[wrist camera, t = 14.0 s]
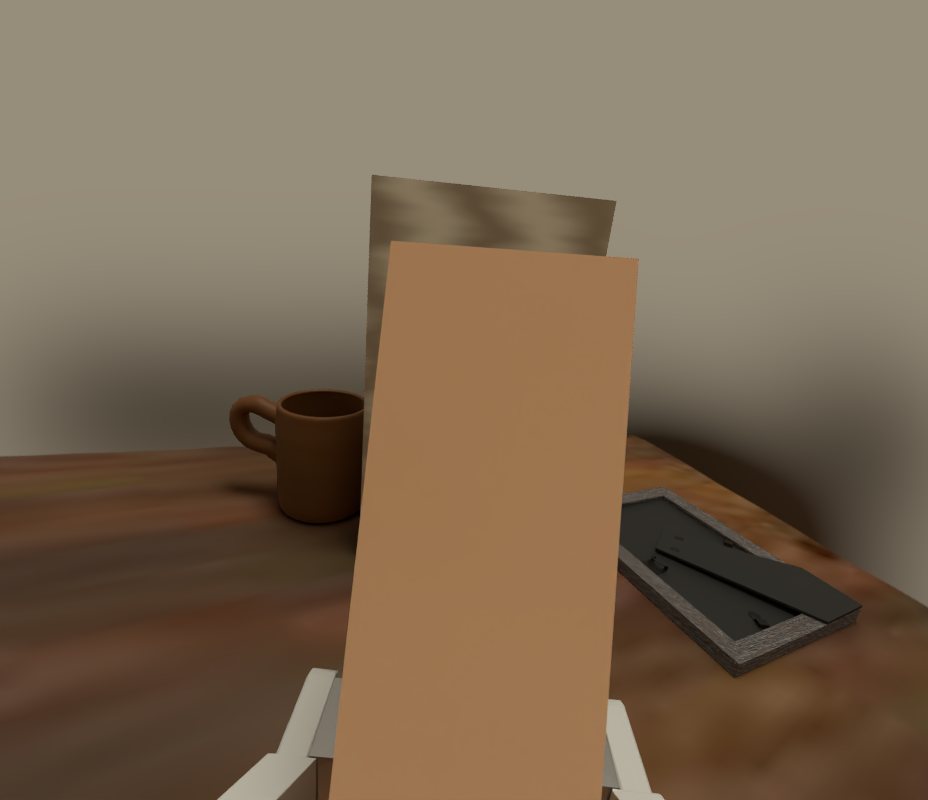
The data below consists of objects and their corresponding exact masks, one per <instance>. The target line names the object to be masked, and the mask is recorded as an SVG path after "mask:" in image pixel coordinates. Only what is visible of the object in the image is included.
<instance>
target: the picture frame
mask: <svg viewBox="0 0 928 800" xmlns="http://www.w3.org/2000/svg"><path fill="white" fill-rule="evenodd" d="M617 570H618V571H619V572H620V573H621V574H622V575H623V576H624V577H625V578H626V579H628V580H629V581H630V582H631V583H632V584H633V585H634V586H635V587H636V588H637V589H638V590H639V591H641V592H642V593H643V594H644V595H645V596H646V597H647V598H648V599H649V600H650V601H651V602H652V603H654V604H655V605H656V606H657V607H658V608H659V609H660V610H661V611H662V612H663V613H664V614H666V615H667V616H668V617H669V618H670V619H671V620H672V621H673V622H674V623H675V624H676V625H677V626H679V627H680V628H681V629H682V630H683V631H684V632H685V633H686V634H687V635H688V636H689V637H691V638H692V639H693V640H694V641H695V642H696V643H697V644H698V645H699V646H700V647H701V648H702V649H704V650H705V651H706V652H707V653H708V654H709V655H710V656H711V657H712V658H713V659H714V660H716V661H717V662H718V663H719V664H720V665H721V666H722V667H723V668H724V669H725V670H726V671H727V672H729V673H730V674H731V675H732V676H733V677H734V678H735V677H737V676H739V675H742V674H744V673H746V672H748V671H750V670H752V669H754V668H757V667H759V666H761V665H763V664H765V663H767V662H770V661H772V660H774V659H776V658H778V657H780V656H782V655H785V654H787V653H789V652H791V651H793V650H795V649H797V648H800V647H802V646H804V645H806V644H808V643H810V642H813V641H815V640H817V639H819V638H821V637H823V636H825V635H828V634H830V633H832V632H834V631H836V630H838V629H841V628H843V627H845V626H847V625H849V624H851V623H853V622H855V621H856V619H857V616H858V614H859V612H860V610H859V609H860V608H861V607H862V605H861V604H859V603H858V602H856V601H854V600H853V599H851V598H850V597H848V596H846V595H845V594H843V593H842V592H840V591H838V590H837V589H835V588H833V587H832V586H830V585H829V584H827V583H825V582H824V581H822V580H820V579H819V578H817V577H816V576H814V575H812V574H811V573H809V572H807V571H806V570H804V569H803V568H800V567H796V566H793V565H789V564H786V563H784V562H783V561H781V560H779V559H778V558H776V557H775V556H773V555H771V554H770V553H768V552H767V551H765V550H763V549H762V548H760V547H759V546H757V545H756V544H754V543H752V542H751V541H749V540H748V539H746V538H744V537H743V536H741V535H740V534H738V533H736V532H735V531H733V530H732V529H730V528H728V527H727V526H725V525H724V524H722V523H720V522H719V521H717V520H716V519H714V518H712V517H711V516H709V515H708V514H706V513H704V512H703V511H701V510H700V509H698V508H697V507H695V506H693V505H692V504H690V503H689V502H687V501H685V500H684V499H682V498H681V497H679V496H677V495H676V494H674V493H673V492H671V491H669V490H668V489H666V488H665V487H660V488H654V489H648V490H643V491H637V492H632V493H626V494H622V507H621V522H620V536H619V551H618V565H617Z"/></svg>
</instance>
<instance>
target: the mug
mask: <svg viewBox="0 0 928 800" xmlns="http://www.w3.org/2000/svg"><path fill="white" fill-rule="evenodd" d="M250 412H252V413H255V414H257V415H259V416H261V417H263V418H265V419H267V420H268V421H271V422H272V423H274V424H275V433H276V437H275V436H272V435H270V434H264V433H260V432H259V431H257V430H256V429H255V428H254V426H253V425H252V423H251V421H250V418H249V413H250ZM229 421H230V425H231V429H232V431H233V433H234V435H235V436H236V438H237V439H238V440H239V441H240V442H241V443H242V444H243V445H244V446H246V447H247V448H249V449H251V450H254V451H256V452H260V453H263V454H266V455H267V456H268V457H269V458H271V459H272V460H273V461H275V462H276V466H277V488H278V500H279V504H280V507H281V509H282V510H283V511H284V512H285V513H286V514H287V515H288V516H290V517H291V518H294V519H296V520H299V521H302V522H307V523H330V522H335V521H339V520H342V519H345V518H347V517H349V516H351V515H353V514H355V513H356V512H358V511H359V510H360V509H361V482H362V452H363V423H364V397H362V396H360V395H358V394H355V393H351V392H347V391H341V390H332V389H315V390H314V389H312V390H304V391H298V392H294V393H291V394H288V395H286V396H284V397H282V398H281V399H280V400H279V401H278V403H275V402H273V401H271V400H269V399H267V398H265V397H263V396H259V395H251V396H246V397H242V398H240V399H238V400H237V401H236V402H235V403H234V404H233V406H232V408H231V410H230V417H229Z"/></svg>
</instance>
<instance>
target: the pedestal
mask: <svg viewBox="0 0 928 800" xmlns="http://www.w3.org/2000/svg"><path fill="white" fill-rule="evenodd" d="M615 206H616V201H610V200H601V199H592V198H583V197H574V196H564V195H555V194H546V193H536V192H526V191H518V190H508V189H499V188H490V187H480V186H471V185H461V184H451V183H442V182H434V181H424V180H414V179H406V178H396V177H387V176H377V175H372V185H371V217H370V245H369V274H368V304H367V306H368V307H367V335H366V363H365V364H366V365H365V394H364V423H363V452H362V482H361V506H362V497H363V488H364V479H365V470H366V461H367V452H368V443H369V434H370V425H371V416H372V407H373V398H374V389H375V380H376V371H377V362H378V353H379V345H380V336H381V327H382V318H383V309H384V300H385V291H386V282H387V273H388V264H389V255H390V246H391V241H401V242H415V243H429V244H442V245H456V246H470V247H483V248H497V249H511V250H524V251H538V252H552V253H565V254H579V255H593V256H606V253H607V248H608V242H609V237H610V232H611V226H612V222H613V216H614V211H615ZM360 515H361V512H360Z"/></svg>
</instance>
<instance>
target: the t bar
mask: <svg viewBox="0 0 928 800" xmlns="http://www.w3.org/2000/svg"><path fill="white" fill-rule="evenodd" d="M638 261H639V259H634V258H620V257H606V256H593V255H579V254H565V253H552V252H538V251H524V250H511V249H497V248H483V247H470V246H456V245H442V244H429V243H415V242H401V241H391V246H390V255H389V264H388V273H387V282H386V291H385V300H384V309H383V318H382V327H381V336H380V345H379V353H378V362H377V371H376V380H375V389H374V398H373V407H372V416H371V425H370V434H369V443H368V452H367V461H366V470H365V479H364V488H363V497H362V506H361V515H360V524H359V533H358V542H357V551H356V560H355V569H354V578H353V587H352V596H351V605H350V614H349V623H348V632H347V641H346V650H345V659H344V668H343V677H342V686H341V695H340V704H339V713H338V722H337V731H336V739H335V748H334V757H333V766H332V775H331V784H330V793H329V800H601V797H602V782H603V768H604V753H605V739H606V725H607V710H608V696H609V681H610V667H611V652H612V638H613V623H614V609H615V594H616V580H617V565H618V551H619V536H620V522H621V507H622V493H623V478H624V464H625V449H626V435H627V419H628V406H629V405H628V404H629V391H630V377H631V362H632V348H633V346H632V345H633V332H634V319H635V304H636V289H637V276H638V275H637V274H638Z"/></svg>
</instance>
